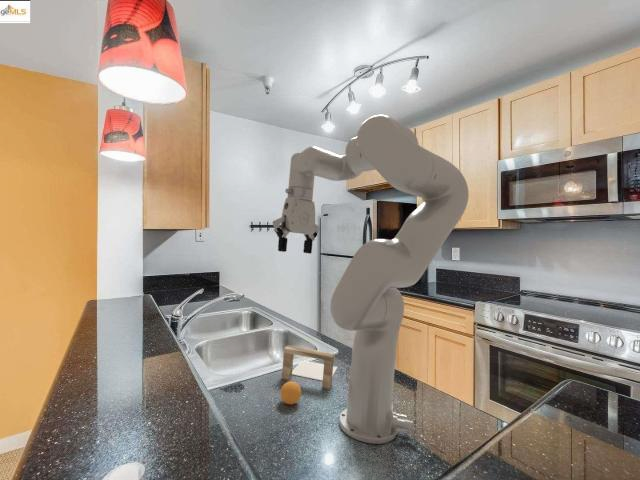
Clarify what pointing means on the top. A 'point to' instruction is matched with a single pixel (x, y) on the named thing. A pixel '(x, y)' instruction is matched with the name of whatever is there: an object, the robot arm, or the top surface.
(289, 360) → the bridge
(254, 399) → the top surface
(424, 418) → the top surface
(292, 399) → the ball
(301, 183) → the robot arm
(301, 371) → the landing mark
